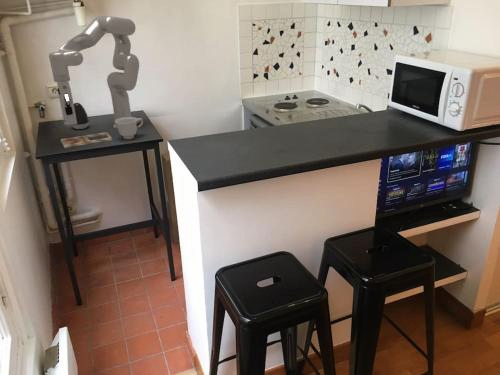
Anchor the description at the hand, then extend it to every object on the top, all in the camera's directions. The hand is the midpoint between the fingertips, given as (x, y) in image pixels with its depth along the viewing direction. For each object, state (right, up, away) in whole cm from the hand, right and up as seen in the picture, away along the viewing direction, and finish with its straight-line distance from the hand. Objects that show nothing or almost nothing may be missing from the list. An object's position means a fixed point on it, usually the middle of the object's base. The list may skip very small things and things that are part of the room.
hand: (68, 112), depth 217 cm
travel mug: (0, -6, +3) cm, 7 cm away
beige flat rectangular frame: (+6, -13, +10) cm, 17 cm away
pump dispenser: (-6, -4, +32) cm, 33 cm away
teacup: (+29, -11, +14) cm, 34 cm away
